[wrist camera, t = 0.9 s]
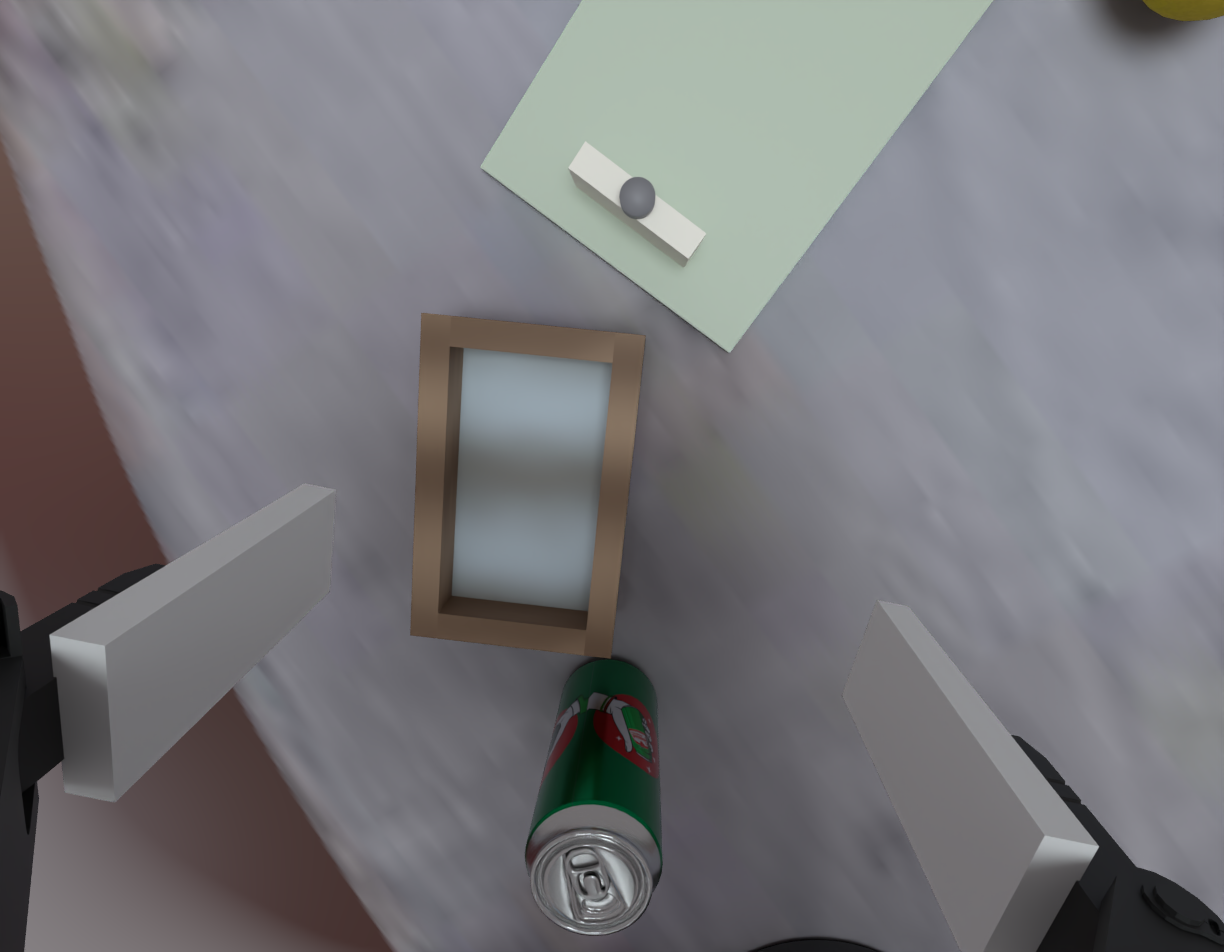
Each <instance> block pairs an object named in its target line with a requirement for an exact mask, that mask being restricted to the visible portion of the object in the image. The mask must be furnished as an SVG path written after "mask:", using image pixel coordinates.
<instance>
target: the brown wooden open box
mask: <svg viewBox="0 0 1224 952" xmlns="http://www.w3.org/2000/svg"><path fill="white" fill-rule="evenodd" d="M645 337H646V335H636V334H626V333H617V332H607V331H597V330H587V329H577V328H567V327H557V326H547V325H537V324H527V323H517V322H507V321H497V320H487V319H478V318H468V317H458V316H448V315H438V314H428V313H421V341H420V370H419V399H418V428H417V457H416V486H415V515H414V544H413V573H412V602H411V631H410V635H412V636H421V637H430V638H438V639H447V640H455V641H464V642H472V643H481V644H490V645H498V646H507V647H515V648H524V649H533V650H541V651H550V652H558V653H567V654H576V655H584V656H593V657H601V658H610V659H611V653H612V643H613V634H614V625H615V616H616V607H617V597H618V588H619V579H620V569H621V560H622V551H623V542H624V532H625V523H626V514H627V504H628V495H629V486H630V476H631V467H632V458H633V449H634V439H635V430H636V421H637V411H638V402H639V393H640V383H641V374H642V365H643V356H644V346H645Z"/></svg>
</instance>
